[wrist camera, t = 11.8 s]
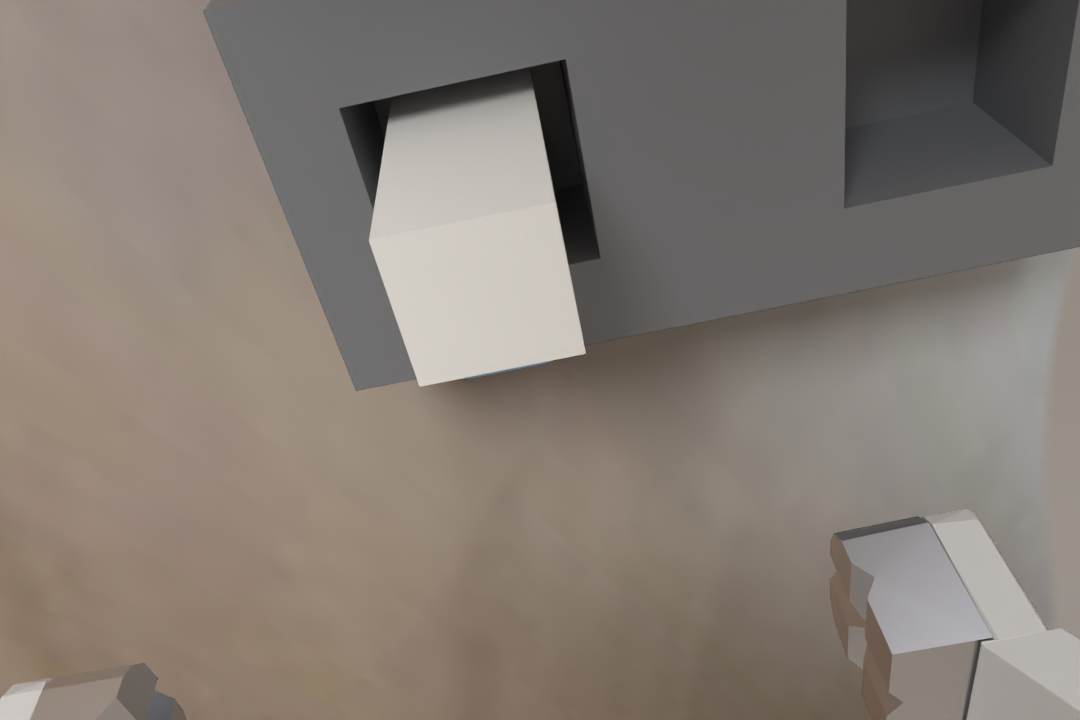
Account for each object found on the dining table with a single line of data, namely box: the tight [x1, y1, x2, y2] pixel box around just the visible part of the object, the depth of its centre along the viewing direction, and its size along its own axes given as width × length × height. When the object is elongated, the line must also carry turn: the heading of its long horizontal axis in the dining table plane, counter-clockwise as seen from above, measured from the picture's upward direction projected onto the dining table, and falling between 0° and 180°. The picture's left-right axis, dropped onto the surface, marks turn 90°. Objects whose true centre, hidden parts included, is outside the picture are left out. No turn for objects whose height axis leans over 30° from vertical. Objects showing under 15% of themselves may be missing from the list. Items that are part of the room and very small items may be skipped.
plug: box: [369, 67, 586, 387], centre depth 21 cm, size 4×3×9 cm
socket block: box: [203, 0, 1080, 391], centre depth 23 cm, size 10×20×5 cm, turn 101°
